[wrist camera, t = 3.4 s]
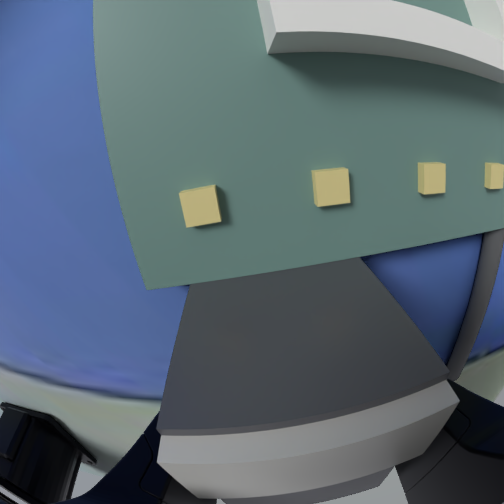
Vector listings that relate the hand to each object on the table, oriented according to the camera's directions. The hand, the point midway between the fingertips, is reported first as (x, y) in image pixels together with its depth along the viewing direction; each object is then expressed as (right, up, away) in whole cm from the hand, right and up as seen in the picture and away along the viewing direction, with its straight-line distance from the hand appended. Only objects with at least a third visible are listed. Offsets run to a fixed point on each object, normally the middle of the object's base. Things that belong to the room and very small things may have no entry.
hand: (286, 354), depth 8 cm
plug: (0, +1, +1) cm, 1 cm away
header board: (+1, +11, -3) cm, 11 cm away
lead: (+9, +2, +1) cm, 9 cm away
